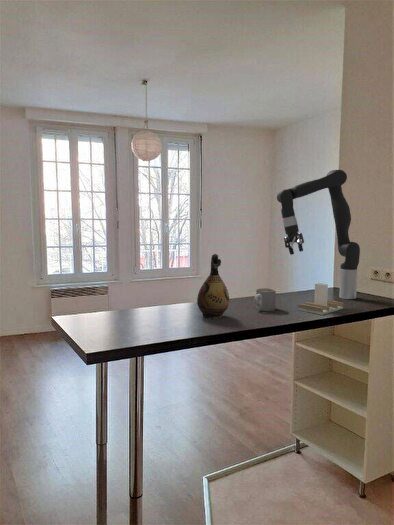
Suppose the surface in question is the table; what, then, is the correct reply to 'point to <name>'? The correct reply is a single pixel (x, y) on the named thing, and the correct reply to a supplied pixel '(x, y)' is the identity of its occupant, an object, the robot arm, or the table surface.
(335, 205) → the robot arm
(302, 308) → the drying rack
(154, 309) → the table surface
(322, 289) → the clay bar
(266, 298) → the coffee mug
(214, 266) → the ceramic jug
